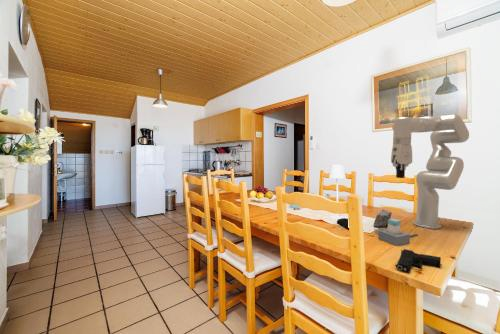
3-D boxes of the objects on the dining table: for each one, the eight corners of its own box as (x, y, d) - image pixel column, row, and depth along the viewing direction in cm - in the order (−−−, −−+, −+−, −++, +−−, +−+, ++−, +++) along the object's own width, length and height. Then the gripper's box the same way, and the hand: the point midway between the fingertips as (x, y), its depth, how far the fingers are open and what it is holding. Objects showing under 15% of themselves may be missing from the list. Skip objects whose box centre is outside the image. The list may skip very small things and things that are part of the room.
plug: (399, 241, 103) (400, 220, 102) (394, 242, 101) (395, 221, 101) (392, 238, 106) (393, 218, 106) (387, 239, 105) (388, 219, 104)
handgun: (438, 285, 70) (394, 270, 78) (440, 264, 83) (402, 253, 91) (439, 275, 70) (395, 261, 78) (440, 255, 82) (402, 245, 90)
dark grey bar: (415, 235, 111) (416, 234, 111) (417, 235, 110) (417, 234, 110) (401, 238, 106) (401, 237, 106) (403, 239, 106) (403, 237, 106)
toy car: (346, 222, 132) (346, 214, 132) (365, 232, 116) (365, 223, 115) (335, 223, 131) (335, 215, 130) (352, 233, 114) (353, 223, 114)
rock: (380, 229, 118) (383, 211, 118) (365, 224, 125) (368, 207, 125) (394, 229, 126) (397, 212, 126) (379, 224, 134) (382, 208, 134)
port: (390, 236, 109) (391, 228, 109) (409, 242, 101) (410, 234, 101) (378, 238, 106) (378, 230, 106) (396, 245, 98) (397, 237, 98)
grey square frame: (383, 231, 116) (383, 227, 116) (396, 235, 110) (396, 232, 110) (375, 233, 113) (375, 229, 113) (387, 237, 107) (387, 233, 107)
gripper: (399, 141, 105) (397, 179, 106) (419, 141, 110) (417, 177, 111) (384, 141, 112) (383, 177, 113) (403, 142, 117) (402, 176, 118)
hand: (400, 177), depth 112 cm, fingers closed
